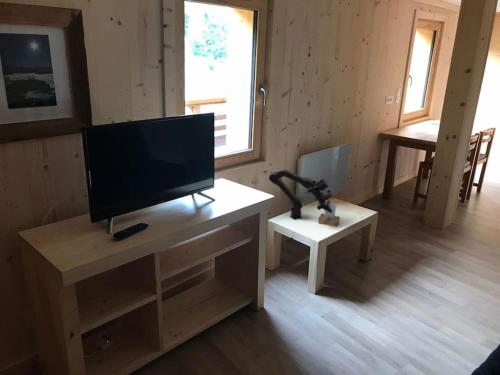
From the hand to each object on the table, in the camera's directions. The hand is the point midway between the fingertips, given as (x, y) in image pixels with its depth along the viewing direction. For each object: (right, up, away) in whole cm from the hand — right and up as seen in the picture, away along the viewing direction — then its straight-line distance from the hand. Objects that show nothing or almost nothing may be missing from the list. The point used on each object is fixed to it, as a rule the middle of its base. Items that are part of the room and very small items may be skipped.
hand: (331, 211), depth 284 cm
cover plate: (-1, -5, +2) cm, 5 cm away
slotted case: (-2, -8, +4) cm, 9 cm away
